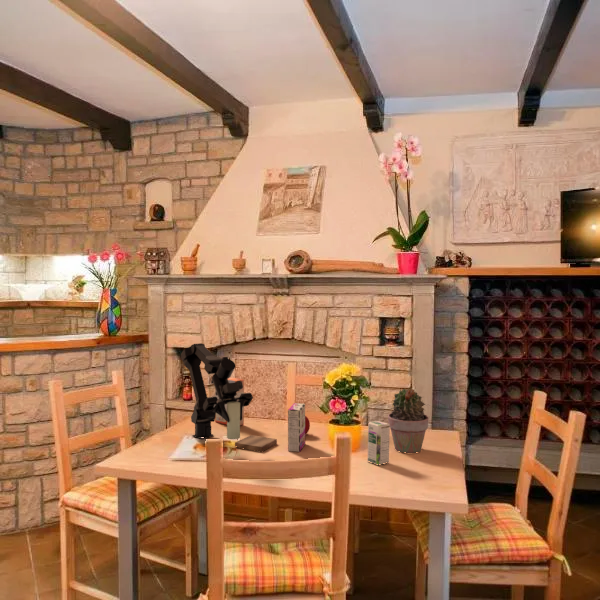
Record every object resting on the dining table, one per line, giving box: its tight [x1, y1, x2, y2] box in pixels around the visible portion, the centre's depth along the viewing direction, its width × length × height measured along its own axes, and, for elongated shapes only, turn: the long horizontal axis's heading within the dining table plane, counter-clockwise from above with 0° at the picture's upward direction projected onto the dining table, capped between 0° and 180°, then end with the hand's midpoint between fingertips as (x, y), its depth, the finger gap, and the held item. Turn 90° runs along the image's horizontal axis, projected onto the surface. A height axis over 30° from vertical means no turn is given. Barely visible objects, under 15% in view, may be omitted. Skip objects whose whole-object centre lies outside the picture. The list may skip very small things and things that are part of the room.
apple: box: [305, 415, 311, 436], centre depth 235 cm, size 9×9×10 cm
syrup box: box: [367, 420, 391, 465], centre depth 200 cm, size 6×6×14 cm
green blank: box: [226, 402, 241, 440], centre depth 207 cm, size 5×5×13 cm
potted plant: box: [387, 388, 432, 454], centre depth 216 cm, size 18×20×25 cm
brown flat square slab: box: [234, 434, 278, 453], centre depth 219 cm, size 12×12×2 cm
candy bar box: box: [287, 402, 306, 453], centre depth 217 cm, size 11×5×16 cm, turn 168°
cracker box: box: [214, 376, 245, 427], centre depth 252 cm, size 14×6×21 cm, turn 47°
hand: (235, 420), depth 205 cm, fingers closed on green blank, 5 cm apart
